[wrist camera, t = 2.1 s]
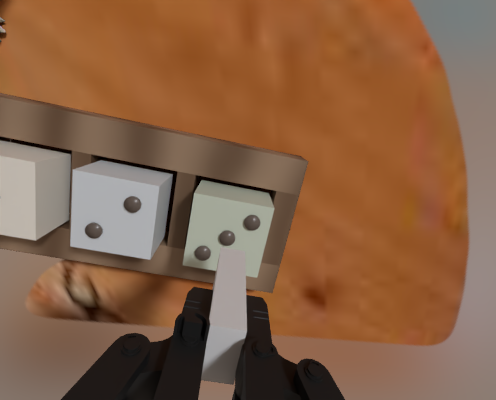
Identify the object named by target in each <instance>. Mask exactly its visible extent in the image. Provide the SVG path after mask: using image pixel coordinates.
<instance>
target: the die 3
mask: <svg viewBox="0 0 496 400" xmlns="http://www.w3.org/2000/svg"><path fill="white" fill-rule="evenodd" d="M274 209H275V208H274V205H273V203H272V200H271V198H270V195H269V193H267V192H262V191H257V190H252V189H247V188H242V187H236V186H231V185H226V184H221V183H216V182H211V181H206V180H201V182H200V184H199V185H198V187H197V189H196V191H195V192H194V197H193V203H192V210H191V216H190V222H189V228H188V234H187V241H186V247H185V253H184V259H183V265H184V266H190V267H196V268H202V269H208V270H214V271H216V269H217V264H218V259H219V254H220V249H221V247H224V248H230V249H235V250H241V251H245V262H246V276H249V277H255V278H257V276H258V273H259V269H260V265H261V261H262V257H263V253H264V249H265V245H266V241H267V237H268V233H269V229H270V225H271V221H272V217H273V213H274Z"/></svg>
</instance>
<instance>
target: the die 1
mask: <svg viewBox="0 0 496 400" xmlns="http://www.w3.org/2000/svg"><path fill="white" fill-rule="evenodd" d="M70 171H71V154H68V153H63V152H58V151H53V150H48V149H43V148H38V147H33V146H28V145H23V144H18V143H12V142H7V141H2V140H0V235H5V236H11V237H17V238H23V239H29V240H35V241H36V240H37V239H39V238H41V237H42V236H44V235H46V234H47V233H49V232H50V231H52V230H54V229H55V228H57V227H58V226H60V225H62V224H63V223H65V222H66V221H68V220H69V205H70Z"/></svg>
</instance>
